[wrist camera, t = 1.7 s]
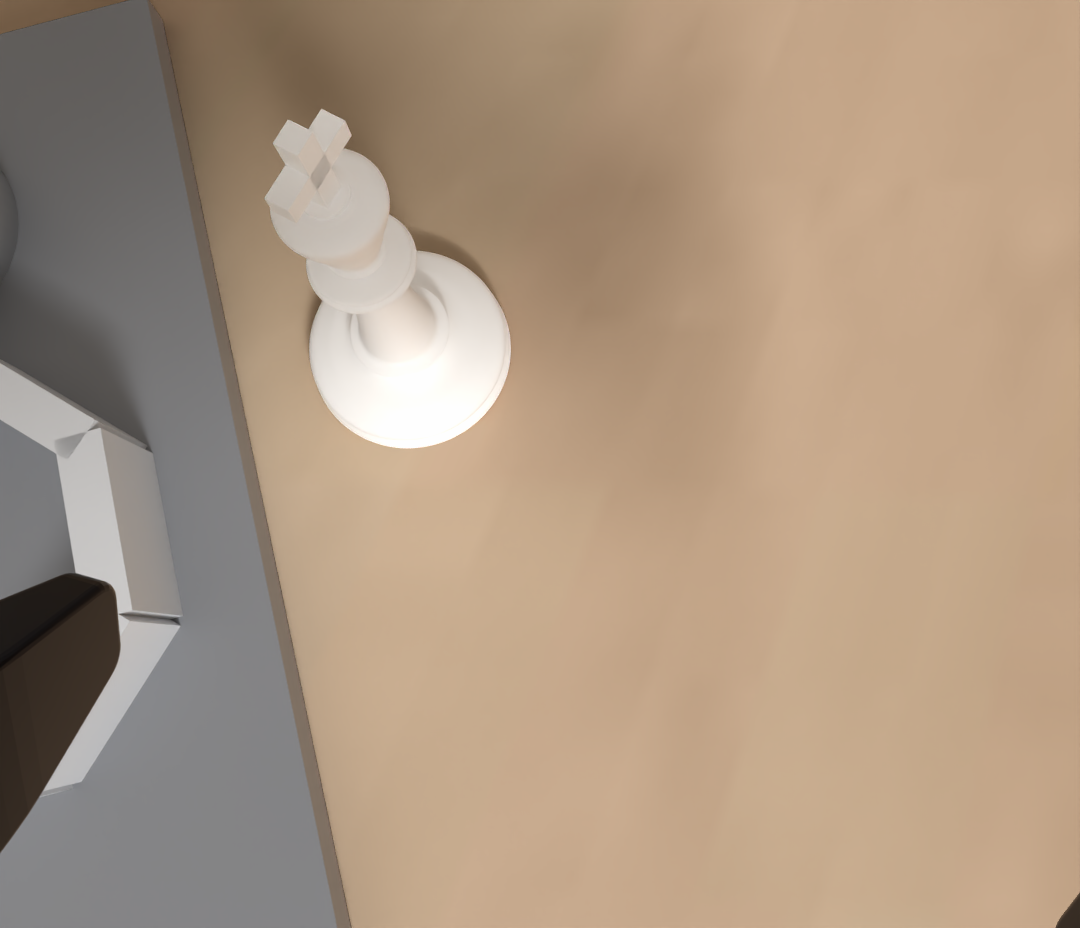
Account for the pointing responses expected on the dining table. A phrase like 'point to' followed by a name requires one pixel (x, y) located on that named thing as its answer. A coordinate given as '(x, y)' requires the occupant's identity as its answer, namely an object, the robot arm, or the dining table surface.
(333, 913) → the carrier plate
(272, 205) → the chess piece
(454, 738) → the dining table surface
